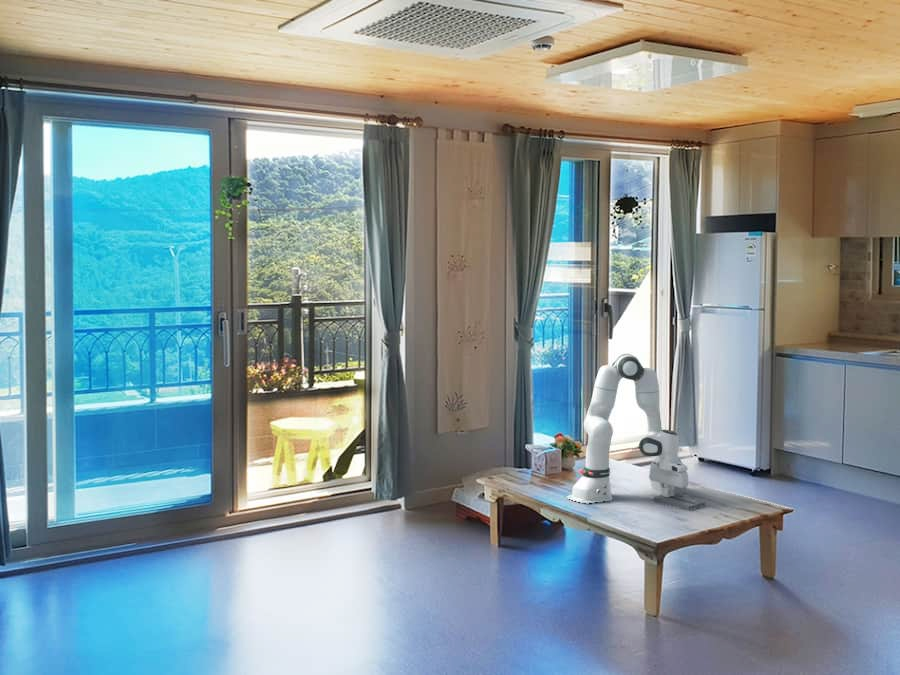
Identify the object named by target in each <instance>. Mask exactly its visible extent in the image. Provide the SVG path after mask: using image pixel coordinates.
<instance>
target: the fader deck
mask: <svg viewBox="0 0 900 675" xmlns="http://www.w3.org/2000/svg"><path fill="white" fill-rule="evenodd" d="M652 498H653V500H652V501H653V502H655V503H658V502H659V504H662V505H666V504H667V505H666V506H669V505H671V506H670V507H673V506H676V507H675V508H677V507H679V508H678V509H680V508H683V509H682V510H684V509H687V510H686V511H688V510H690V511H692V510H691V509H693V510H695V509H694V508H697V509H699V508H698V507H700V508H702V507H701V506H703V507H705V505H706V503H705V502H706V501H703V500H699V499H694V498H691V497H687V496H684V495H683V496H680V495H676V494H674V495H673V496H670V497H665V496H662V494H659V495H657V496H655V495H654V496H652Z"/></svg>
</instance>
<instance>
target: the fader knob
mask: <svg viewBox="0 0 900 675" xmlns="http://www.w3.org/2000/svg"><path fill="white" fill-rule="evenodd" d="M670 490H672V488H671V486H666V487H662V494H661V495H662V496H665V497H670V496H673V495H671V494H669V493H670V492H669V491H670Z"/></svg>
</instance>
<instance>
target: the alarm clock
mask: <svg viewBox="0 0 900 675" xmlns="http://www.w3.org/2000/svg"><path fill="white" fill-rule="evenodd" d="M653 461H655V462H659V456H654V458H653V460H652V461H651V463H652V462H653ZM678 461H680V462H681V463H683V462H682V460H681V459H680V458H679V460H678ZM650 468H651V465H650V466H649V469H650ZM649 481H650V486H651V488H652V491H654V492H656V491H657V492H656V493H658V492H659V493H658V494H660V493H661V494H660V495H662V488H661V486H660V482H656V481H652V480H650V479H649ZM664 486H665V487H666V486H671V485H668V484H665V485H664ZM686 489H687V487H686V488H680V487H677V488H676V489H675V491H674V494H676V495H680V496H682V495H683V496H684V494H685V492H686Z"/></svg>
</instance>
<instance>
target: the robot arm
mask: <svg viewBox="0 0 900 675" xmlns="http://www.w3.org/2000/svg"><path fill="white" fill-rule="evenodd" d="M623 378H624V379H626V380H631V381H633V382H634V387H635V399H636V404H637V406H638V408H640V409H641V410H643V412H644V413H645V415H646V421H647V423H646V424H647V430H648V432H647V434H646V435H645V437H643V438H641V440H640V441H639V444H638V449H639V451H640V453H641V454H642V455H643V456H645V457H657V456H659V462H655V461H653V460H652V461H653V462H652V461H651V463H650V466H651V468H650V467H649V475H648V476H649V478H648V479H649V481H650V480H652V481H656V482H660V486H661V488H662V487H665V486H664V485H665V484H668V485H671V488H672V490H670V491H669V492H670V493H669V494H671V495H674V491H675V489H676V488H677V487H680V488H686V489H687V487H688V486H689V473H688V472H687V471H688V469H689V467H688V466H687V465H686V464H684V463H683V462H682V461H681V462H682V463H681V462H680V461H678V460H679V459H680V458H679V450H680V448H679V447H680V445H679V444H680V443H679V442H680V441H679V435H678V434H677V432H675V431H673V430H670V429H663V428H662V420H661V412H660V411H661V410H660V386H659V380H658V379H659V378H658V375H657V372H656V370H655V369H653V368H649V367H643V365H642V363H641V362H640V360H639V359H638V358H637V357H636V356H634V355H633V354H631V353H624V354H621V355H620V356H618V357H617V358H616V360H615V361H614V362H613V363H612V364H611V365H610V364H604V365H602V366H600V368H599V369H598V372H597V375H596V377H595V380H594V386H593V390H592V396H591V399H590V403H589V404H590V405H589V407H588V409H587V411H586V416H585V418H584V420H583V429H584V431H585V432H586V434H587V435H588V438H587V440H588V441H587V446H586V450H585V466H584V468H583V469H582V468H579V470H578V473H579V474H582V476H581V477H580V478H579V479H578V480H577V481H576V483H574V484H573V485H572V489H571V490H572V491H571V494H568V495H567V496H566V499H567V498H568V499H567V500H569V499H570V500H569V501H571V500H573V501H572V502H574V501H576V502H575V503H578V502H580V503H579V504H583V503H586V505H590V504H589V503H592V504H596V503H595V502H598V503H603V501H605V502H609V501H613V496H612V491H611V488H612V487H611V481H610V475H611V471H610V470H611V468H610V451H611V450H610V449H611V448H610V447H611V444H612V437H613V432H614V431H613V430H614V429H613V426H612V424H611V423H610V422H609V419H610V415H611V413H612V411H613V409H614V407H615V404H616V399H617V394H618V390H619V389H618V388H619V384H620V381H621V380H622V379H623Z"/></svg>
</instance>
